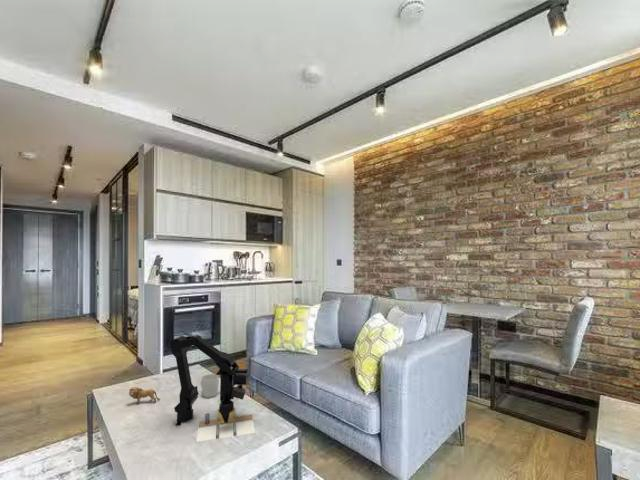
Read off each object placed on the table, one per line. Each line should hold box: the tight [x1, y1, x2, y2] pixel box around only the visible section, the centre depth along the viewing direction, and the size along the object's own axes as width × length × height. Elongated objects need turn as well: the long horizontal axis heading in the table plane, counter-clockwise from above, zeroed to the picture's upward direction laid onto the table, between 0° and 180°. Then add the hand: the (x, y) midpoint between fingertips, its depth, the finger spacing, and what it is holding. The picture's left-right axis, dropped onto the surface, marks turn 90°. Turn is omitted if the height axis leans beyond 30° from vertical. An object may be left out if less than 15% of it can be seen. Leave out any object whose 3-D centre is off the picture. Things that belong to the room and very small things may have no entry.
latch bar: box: [216, 406, 236, 425], centre depth 147 cm, size 8×4×4 cm, turn 106°
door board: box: [195, 413, 256, 443], centre depth 142 cm, size 24×16×5 cm
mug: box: [200, 373, 220, 399], centre depth 177 cm, size 13×9×10 cm
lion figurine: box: [128, 386, 161, 406], centre depth 167 cm, size 15×5×9 cm, turn 113°
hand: (226, 417), depth 147 cm, fingers open, 9 cm apart
